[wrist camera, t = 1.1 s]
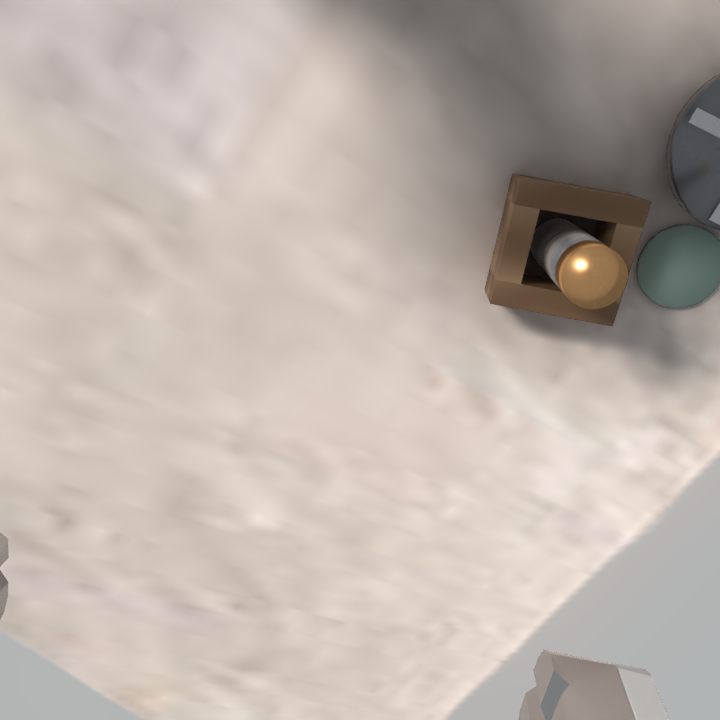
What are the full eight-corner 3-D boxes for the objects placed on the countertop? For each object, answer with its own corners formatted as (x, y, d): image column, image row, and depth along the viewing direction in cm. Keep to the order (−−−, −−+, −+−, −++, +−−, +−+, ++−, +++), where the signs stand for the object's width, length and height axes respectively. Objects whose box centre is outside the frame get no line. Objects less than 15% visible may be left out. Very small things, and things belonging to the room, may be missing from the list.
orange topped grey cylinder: (537, 214, 46) (571, 241, 36) (587, 223, 46) (636, 252, 36) (525, 263, 47) (554, 302, 37) (573, 272, 47) (617, 314, 37)
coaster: (651, 218, 46) (653, 218, 45) (735, 233, 46) (737, 234, 45) (626, 298, 48) (628, 299, 47) (706, 313, 47) (708, 314, 47)
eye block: (512, 173, 45) (520, 178, 42) (631, 195, 45) (651, 201, 42) (484, 289, 48) (490, 303, 44) (597, 310, 48) (612, 326, 44)
